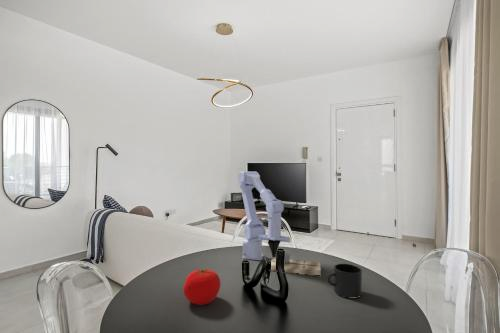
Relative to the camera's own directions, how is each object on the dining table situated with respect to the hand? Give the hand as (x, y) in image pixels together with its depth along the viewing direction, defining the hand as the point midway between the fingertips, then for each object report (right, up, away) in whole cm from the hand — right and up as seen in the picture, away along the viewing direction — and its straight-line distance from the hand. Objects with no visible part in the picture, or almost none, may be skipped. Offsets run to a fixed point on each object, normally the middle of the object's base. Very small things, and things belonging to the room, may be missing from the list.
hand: (274, 256), depth 121 cm
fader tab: (+5, -2, -1) cm, 6 cm away
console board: (+9, -5, -2) cm, 11 cm away
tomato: (-27, -4, -32) cm, 43 cm away
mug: (+23, -5, -24) cm, 34 cm away
